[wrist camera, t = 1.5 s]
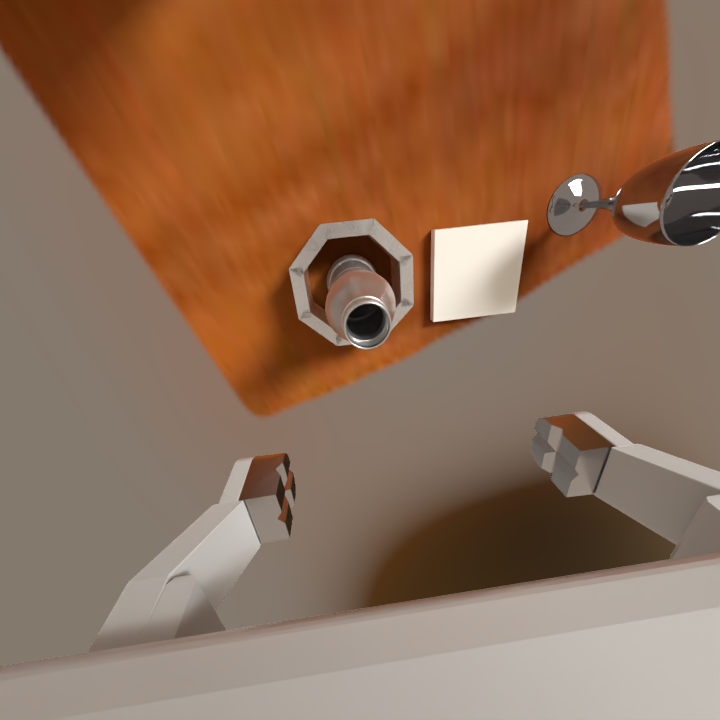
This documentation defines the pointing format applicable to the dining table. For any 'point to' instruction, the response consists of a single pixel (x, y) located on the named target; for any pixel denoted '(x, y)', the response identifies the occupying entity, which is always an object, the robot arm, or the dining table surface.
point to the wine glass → (650, 200)
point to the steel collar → (370, 227)
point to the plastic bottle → (359, 302)
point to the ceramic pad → (476, 269)
